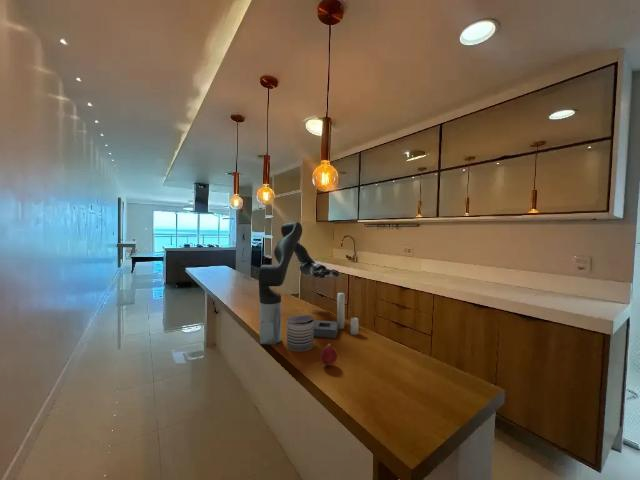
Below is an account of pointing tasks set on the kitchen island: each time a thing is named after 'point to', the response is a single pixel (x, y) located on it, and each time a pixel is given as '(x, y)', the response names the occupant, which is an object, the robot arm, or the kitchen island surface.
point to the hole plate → (325, 328)
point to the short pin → (354, 326)
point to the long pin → (340, 309)
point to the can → (300, 332)
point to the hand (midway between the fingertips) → (330, 275)
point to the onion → (328, 355)
